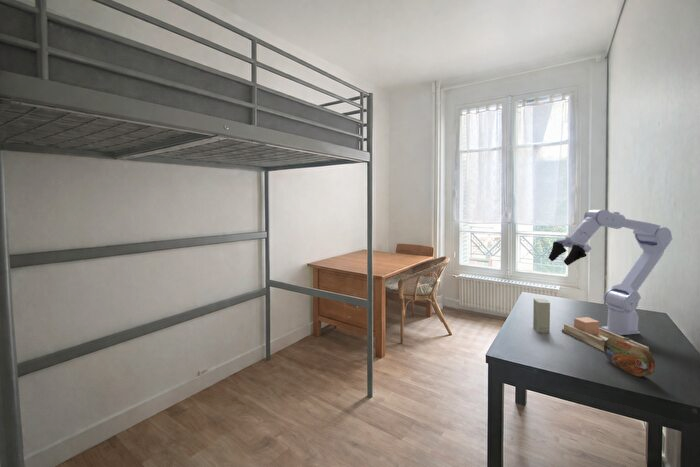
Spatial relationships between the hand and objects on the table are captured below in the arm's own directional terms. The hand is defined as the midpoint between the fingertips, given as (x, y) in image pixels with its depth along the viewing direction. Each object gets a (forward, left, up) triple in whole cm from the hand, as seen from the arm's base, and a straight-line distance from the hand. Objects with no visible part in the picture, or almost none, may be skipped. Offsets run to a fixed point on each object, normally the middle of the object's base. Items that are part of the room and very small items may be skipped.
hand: (557, 261), depth 127 cm
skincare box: (+2, -5, -29) cm, 30 cm away
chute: (-11, +10, -29) cm, 33 cm away
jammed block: (-11, +3, -28) cm, 30 cm away
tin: (-1, +28, -29) cm, 40 cm away
